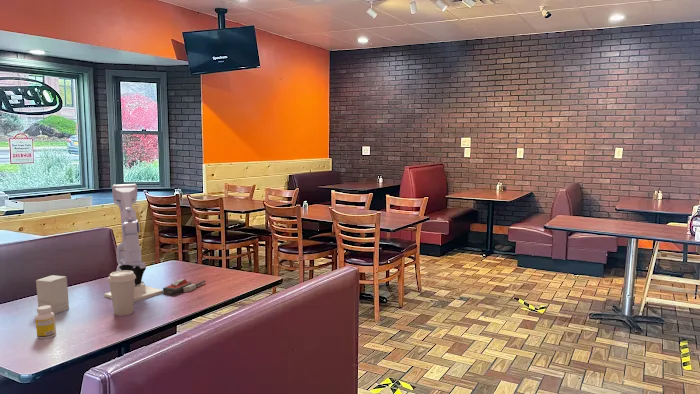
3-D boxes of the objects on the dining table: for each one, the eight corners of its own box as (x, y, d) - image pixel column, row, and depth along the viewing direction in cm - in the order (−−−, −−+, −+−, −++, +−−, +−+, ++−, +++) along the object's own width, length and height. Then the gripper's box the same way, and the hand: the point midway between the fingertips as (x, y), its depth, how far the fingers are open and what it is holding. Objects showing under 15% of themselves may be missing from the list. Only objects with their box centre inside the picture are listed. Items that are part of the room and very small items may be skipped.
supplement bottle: (42, 333, 170) (40, 304, 169) (59, 332, 170) (57, 304, 169) (33, 339, 164) (31, 310, 163) (51, 339, 165) (49, 309, 164)
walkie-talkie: (177, 297, 208) (207, 284, 226) (176, 287, 207) (207, 274, 226) (159, 295, 211) (190, 282, 229) (159, 285, 210) (190, 272, 229)
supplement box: (69, 308, 194) (67, 276, 192) (52, 315, 187) (50, 281, 185) (55, 306, 196) (52, 274, 195) (37, 313, 189) (35, 279, 188)
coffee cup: (110, 318, 183) (107, 278, 181) (109, 310, 191) (106, 271, 189) (139, 314, 187) (136, 274, 185) (136, 306, 196) (134, 268, 194)
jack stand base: (104, 296, 208) (103, 286, 208) (139, 286, 221) (139, 276, 221) (128, 303, 199) (127, 292, 199) (163, 293, 213) (162, 282, 212)
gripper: (112, 250, 209) (114, 282, 210) (133, 254, 201) (135, 288, 202) (127, 247, 215) (129, 278, 216) (149, 251, 207) (151, 283, 208)
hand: (133, 282), depth 210 cm, fingers open, 6 cm apart
